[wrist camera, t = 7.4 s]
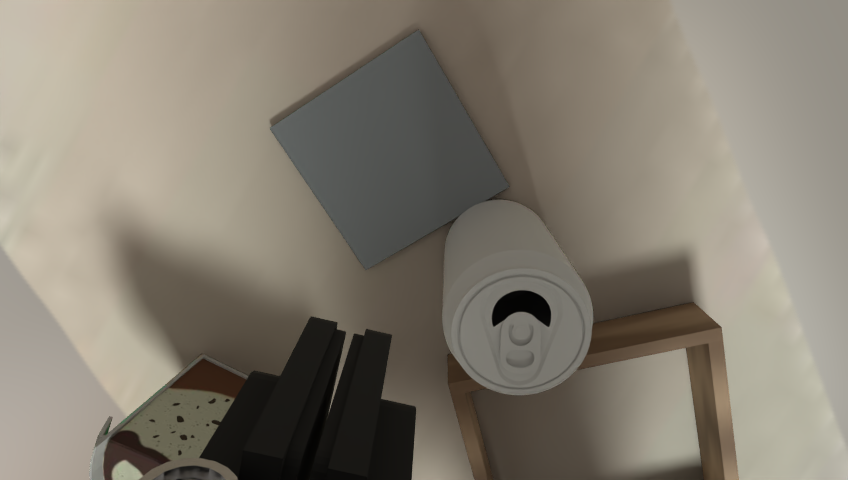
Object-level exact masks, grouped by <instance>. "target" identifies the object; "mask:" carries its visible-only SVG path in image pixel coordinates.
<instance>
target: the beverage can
mask: <svg viewBox="0 0 848 480" xmlns="http://www.w3.org/2000/svg"><path fill="white" fill-rule="evenodd" d="M442 324H443V332H444V336H445V339H446V342H447V345H448V347H449V349H450V351H451V353H452V354H453V356H454V357H455V359H456V360H457V361H458V362H459V363H460V365H461V366H462V368H463V369H464V370H465V371H466V373H467V374H468V375H469V376H470V377H471V378H473V379H474V380H475V381H476V382H478V383H479V384H481V385H482V386H484V387H486V388H488V389H490V390H493V391H496V392H499V393H503V394H508V395H531V394H536V393H540V392H544V391H546V390H549V389H551V388H553V387H555V386H557V385H559V384H560V383H562V382H564V381H565V380H566V379H568V378H569V377H570V376H571V375H572V374H573V373H574V372H575V371H576V370H577V368H578V367H579V366H580V365H581V363H582V362H583V360H584V358H585V356H586V354H587V352H588V349H589V346H590V341H591V335H592V326H593V307H592V302H591V298H590V295H589V293H588V290H587V288H586V286H585V284H584V283H583V281H582V280H581V278H580V277H579V275H578V274H577V272H576V271H575V269H574V268H573V266H572V265H571V263H570V262H569V260H568V259H567V257H566V256H565V254H564V253H563V251H562V250H561V248H560V247H559V245H558V244H557V242H556V241H555V239H554V238H553V236H552V235H551V233H550V232H549V230H548V229H547V227H546V226H545V224H544V223H543V221H542V220H541V218H540V217H539V216H538V215H537V214H536V213H535V212H533V211H532V210H530V209H529V208H527V207H525V206H524V205H522V204H520V203H517V202H513V201H509V200H489V201H485V202H482V203H479V204H476V205H474V206H472V207H471V208H469V209H467V210H466V211H465V212H463V213H462V214H461V215H460V216H459V217H458V218H457V219H456V221H455V222H454V223H453V225H452V226H451V228H450V230H449V232H448V235H447V238H446V242H445V250H444V279H443V310H442Z"/></svg>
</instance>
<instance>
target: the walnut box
mask: <svg viewBox="0 0 848 480" xmlns="http://www.w3.org/2000/svg"><path fill="white" fill-rule="evenodd" d="M682 348H686V350H687V358H688V365H689V372H690V380H691V387H692V395H693V402H694V410H695V417H696V424H697V432H698V439H699V447H700V454H701V462H702V469H703V476H704V480H739V477H738V469H737V460H736V451H735V442H734V433H733V424H732V416H731V407H730V398H729V389H728V380H727V371H726V362H725V354H724V345H723V336H722V327H721V326H719V325H718V324H717V323H716V322H715V321H714V320H713V319H712V318H711V317H709V316H708V315H707V314H706V313H705V312H704V311H703V310H702V309H701V308H699V307H698V306H697V305H696V304H695V303H694V302H693V303H688V304H683V305H678V306H674V307H669V308H664V309H660V310H655V311H650V312H646V313H641V314H636V315H631V316H627V317H622V318H617V319H613V320H608V321H603V322H598V323H594V324H593V326H592V335H591V341H590V346H589V349H588V352H587V354H586V356H585V358H584V360H583V362H582V363H581V365H580V366H579V367H578V368H577V370H579V369H584V368H589V367H594V366H599V365H603V364H608V363H613V362H618V361H623V360H628V359H633V358H638V357H643V356H647V355H652V354H657V353H662V352H667V351H672V350H677V349H682ZM448 385H449V389H450V393H451V396H452V400H453V403H454V407H455V411H456V414H457V418H458V422H459V425H460V429H461V432H462V436H463V440H464V443H465V447H466V450H467V454H468V458H469V461H470V465H471V469H472V472H473V476H474V479H475V480H493V476H492V472H491V468H490V464H489V461H488V457H487V453H486V449H485V446H484V442H483V438H482V434H481V430H480V427H479V423H478V419H477V415H476V412H475V408H474V404H473V400H472V396H471V393H470V392H471V391H476V390H481V389H486V387H484V386H482V385H481V384H479V383H478V382H476V381H475V380H474V379H473V378H471V377H470V376H469V375H468V374H467V373H466V371H465V370H464V369H463V368H462V366H461V365H460V363H459V362H458V361H457V360H456V359H455V357H454V356H453V354H448Z"/></svg>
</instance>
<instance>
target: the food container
mask: <svg viewBox="0 0 848 480" xmlns="http://www.w3.org/2000/svg"><path fill="white" fill-rule="evenodd" d="M247 378H248V375H245V374H243V373H241V372H239V371H237V370H235V369H233V368H231V367H229V366H227V365H225V364H223V363H221V362H219V361H217V360H214V359H212V358H210V357H208V356H206V355H204V354H201V355H200V356H199V357H198V358H196V359H195V360H194V361H193V362H192V363H191V364H189V365H188V366H187V367H186V368H185V369H183V370H182V371H181V372H180V373H179V374H178V375H176V376H175V377H174V378H173V379H172V380H170V381H169V382H168V383H167V384H166V385H165V386H163V387H162V388H161V389H160V390H159V391H157V392H156V393H155V394H154V395H153V396H152V397H150V398H149V399H148V400H147V401H146V402H144V403H143V404H142V405H141V406H140V407H139V408H137V409H136V410H135V411H134V412H133V413H131V414H130V415H129V416H128V417H127V418H126V419H124V420H123V421H122V422H121V423H120V424H119V425H117V426H116V427H115V428H114V429H113V430H112V431H110V432H109V433H108V430H109V427H110V424H111V421H112V417H109V418H108V420H107V421H106V423H105V425H104V426H103V428H102V430H101V431H100V433H99V435H98V437H97V441H96V444H95V447H94V451H93V455H92V458H91V464H90V473H89V476H90V480H139V479H140V478H141V477H142V476H144V475H145V474H146V473H148V472H149V471H150V470H151V469H153V468H156V467H158V466H160V465H162V464H164V463H166V462H170V461H174V460H179V459H183V458H199V457H200V455H201V454H202V452H203V450H204V449H205V447H206V445H207V444H208V442H209V440H210V439H211V437H212V436H213V434H214V432H215V431H216V429H217V427H218V426H219V424H220V422H221V421H222V419H223V417H224V416H225V414H226V413H227V411H228V409H229V408H230V406H231V404H232V403H233V401H234V399H235V398H236V396H237V395H238V393H239V391H240V390H241V388H242V386H243V385H244V383H245V381H246V380H247ZM327 418H328V417H327Z"/></svg>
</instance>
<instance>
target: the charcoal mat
mask: <svg viewBox="0 0 848 480" xmlns="http://www.w3.org/2000/svg"><path fill="white" fill-rule="evenodd" d="M270 130H271V131H272V133H273V134H274V136H275V137H276V139H277V140H278V142H279V143H280V144H281V146H282V147H283V149H284V150H285V152H286V153H287V155H288V156H289V158H290V159H291V161H292V162H293V164H294V165H295V167H296V168H297V170H298V171H299V172H300V174H301V175H302V177H303V178H304V180H305V181H306V183H307V184H308V186H309V187H310V189H311V190H312V192H313V193H314V195H315V196H316V198H317V199H318V201H319V202H320V203H321V205H322V206H323V208H324V209H325V211H326V212H327V214H328V215H329V217H330V218H331V220H332V221H333V223H334V224H335V226H336V227H337V229H338V230H339V231H340V233H341V234H342V236H343V237H344V239H345V240H346V242H347V243H348V245H349V246H350V248H351V249H352V251H353V252H354V254H355V255H356V257H357V258H358V260H359V261H360V262H361V264H362V265H363V267H364V268H365V270H367V269H369V268H370V267H372V266H374V265H376V264H377V263H379V262H381V261H383V260H384V259H386V258H388V257H389V256H391V255H393V254H395V253H396V252H398V251H400V250H401V249H403V248H405V247H407V246H408V245H410V244H412V243H414V242H415V241H417V240H419V239H420V238H422V237H424V236H426V235H427V234H429V233H431V232H432V231H434V230H436V229H438V228H439V227H441V226H443V225H445V224H446V223H448V222H450V221H451V220H453V219H455V218H457V217H458V216H460V215H461V214H462V213H463V212H465V211H466V210H467V209H469V208H471V207H472V206H474V205H476V204H479V203H482V202H484V201H486V200H488V199H489V198H491V197H493V196H495V195H496V194H498V193H500V192H501V191H503V190H505V189H507V188H508V187H509V185H508V183H507V181H506V180H505V178H504V176H503V174H502V173H501V171H500V169H499V167H498V166H497V164H496V162H495V161H494V159H493V157H492V155H491V154H490V152H489V150H488V148H487V147H486V145H485V143H484V142H483V140H482V138H481V136H480V135H479V133H478V131H477V129H476V128H475V126H474V124H473V122H472V121H471V119H470V117H469V116H468V114H467V112H466V110H465V109H464V107H463V105H462V103H461V102H460V100H459V98H458V97H457V95H456V93H455V91H454V90H453V88H452V86H451V84H450V83H449V81H448V79H447V77H446V76H445V74H444V72H443V71H442V69H441V67H440V65H439V64H438V62H437V60H436V58H435V57H434V55H433V53H432V52H431V50H430V48H429V46H428V45H427V43H426V41H425V39H424V38H423V36H422V34H421V32H420V31H419V30H417V31H416V32H414V33H413V34H411V35H410V36H408V37H407V38H405V39H403V40H402V41H400V42H399V43H397V44H396V45H394V46H393V47H391V48H390V49H388V50H387V51H385V52H384V53H382V54H381V55H379V56H378V57H376V58H375V59H373V60H372V61H370V62H369V63H367V64H366V65H364V66H363V67H361V68H360V69H358V70H357V71H355V72H354V73H352V74H351V75H349V76H348V77H346V78H345V79H343V80H342V81H340V82H339V83H337V84H336V85H334V86H333V87H331V88H330V89H328V90H327V91H325V92H324V93H322V94H320V95H319V96H317V97H316V98H314V99H313V100H311V101H310V102H308V103H307V104H305V105H304V106H302V107H301V108H299V109H298V110H296V111H295V112H293V113H292V114H290V115H289V116H287V117H286V118H284V119H283V120H281V121H280V122H278V123H277V124H275V125H274V126H272V127H271V128H270Z"/></svg>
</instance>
